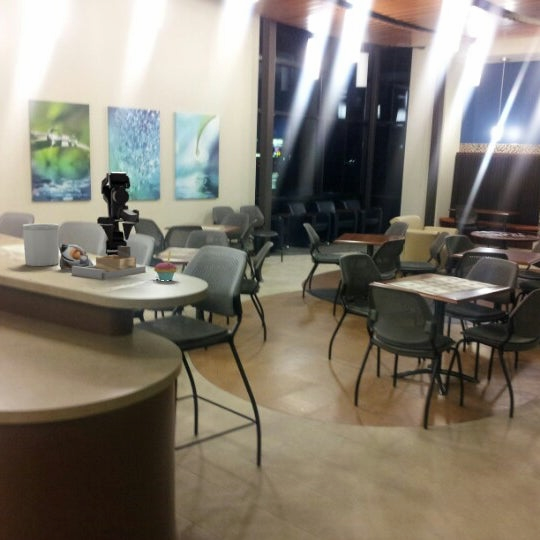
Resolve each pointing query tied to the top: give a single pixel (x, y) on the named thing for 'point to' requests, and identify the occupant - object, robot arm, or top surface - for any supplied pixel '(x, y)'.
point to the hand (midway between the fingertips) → (118, 240)
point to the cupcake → (165, 270)
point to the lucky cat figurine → (73, 257)
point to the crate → (116, 260)
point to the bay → (102, 274)
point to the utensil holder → (41, 244)
